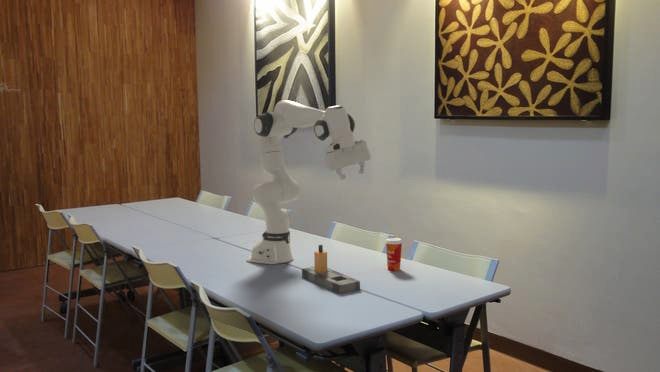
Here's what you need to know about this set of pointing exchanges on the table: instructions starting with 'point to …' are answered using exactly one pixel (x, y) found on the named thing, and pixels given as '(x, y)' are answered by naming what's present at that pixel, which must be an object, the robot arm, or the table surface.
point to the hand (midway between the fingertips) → (352, 176)
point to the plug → (320, 260)
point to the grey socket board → (332, 280)
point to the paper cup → (393, 253)
